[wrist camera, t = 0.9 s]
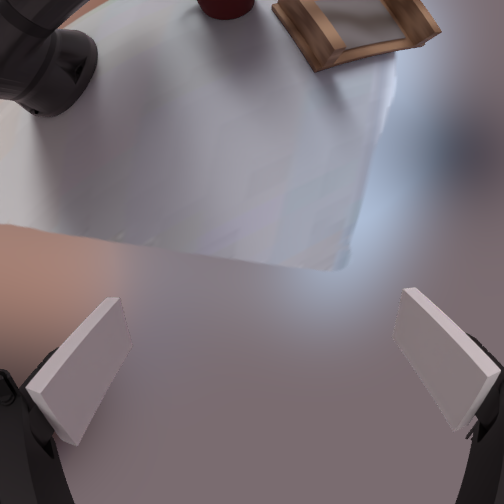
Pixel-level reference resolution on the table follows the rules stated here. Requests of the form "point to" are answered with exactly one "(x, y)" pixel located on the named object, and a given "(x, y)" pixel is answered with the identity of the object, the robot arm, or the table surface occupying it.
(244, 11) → the mug
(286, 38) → the table surface
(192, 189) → the table surface
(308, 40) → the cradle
